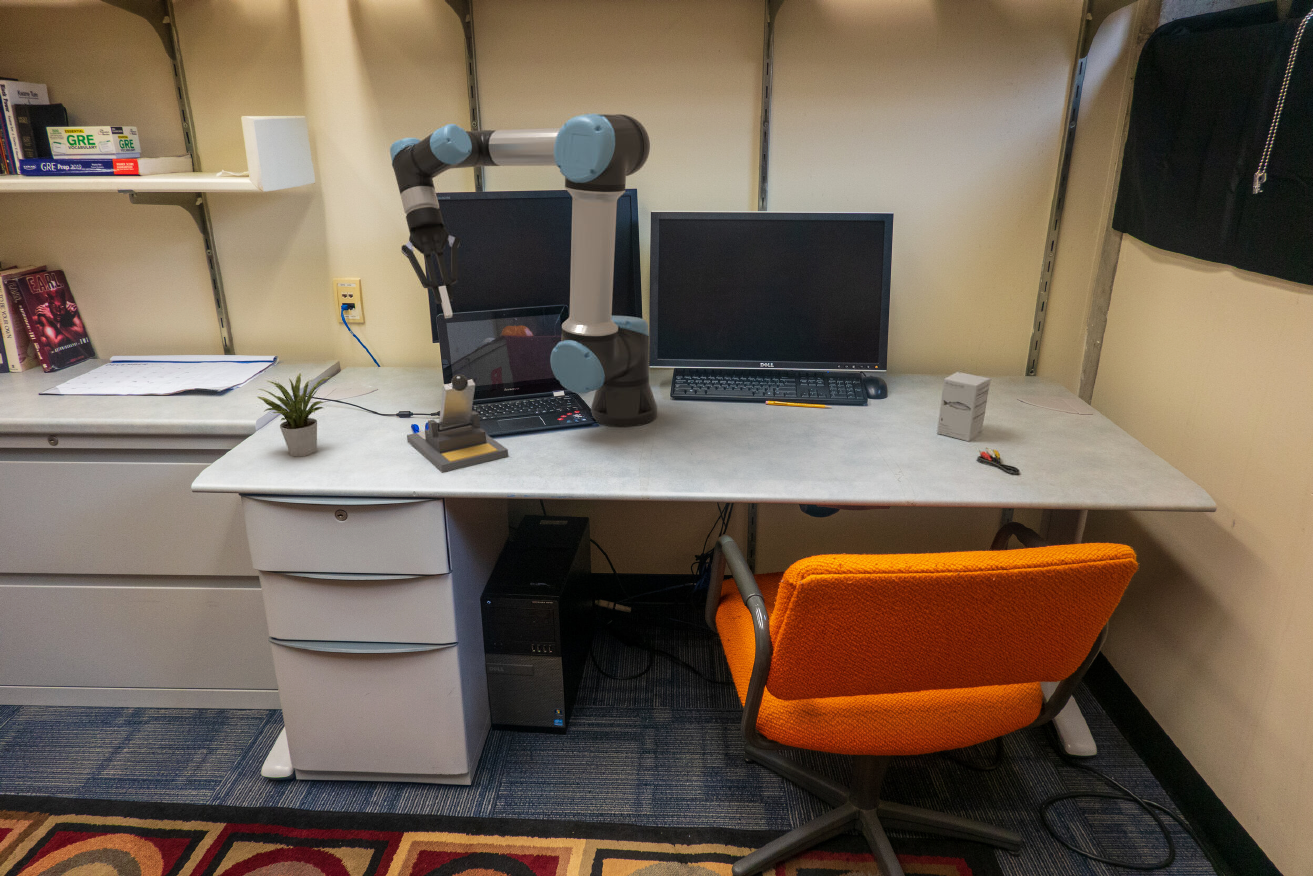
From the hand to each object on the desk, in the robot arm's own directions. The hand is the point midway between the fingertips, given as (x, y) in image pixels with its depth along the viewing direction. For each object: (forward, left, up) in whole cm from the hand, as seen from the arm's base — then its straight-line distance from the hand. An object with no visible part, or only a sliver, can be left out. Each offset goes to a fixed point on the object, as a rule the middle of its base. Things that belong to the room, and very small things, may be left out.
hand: (448, 316), depth 178 cm
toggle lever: (-4, +18, -18) cm, 26 cm away
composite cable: (-112, +27, -24) cm, 118 cm away
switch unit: (-4, +18, -24) cm, 30 cm away
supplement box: (-111, +10, -24) cm, 114 cm away
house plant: (+27, +18, -24) cm, 41 cm away
